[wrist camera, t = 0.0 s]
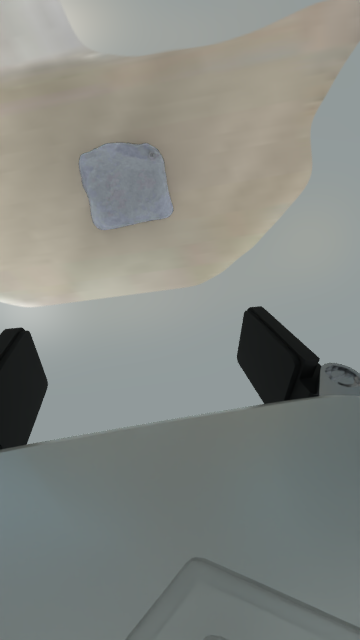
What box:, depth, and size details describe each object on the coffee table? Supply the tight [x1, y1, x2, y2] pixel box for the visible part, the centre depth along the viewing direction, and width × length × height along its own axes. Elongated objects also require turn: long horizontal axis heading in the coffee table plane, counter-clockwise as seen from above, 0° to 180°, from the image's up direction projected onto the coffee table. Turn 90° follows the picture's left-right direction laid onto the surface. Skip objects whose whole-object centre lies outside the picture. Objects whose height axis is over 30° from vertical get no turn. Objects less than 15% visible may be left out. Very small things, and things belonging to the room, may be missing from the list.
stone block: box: [79, 143, 173, 230], centre depth 33 cm, size 12×5×10 cm
